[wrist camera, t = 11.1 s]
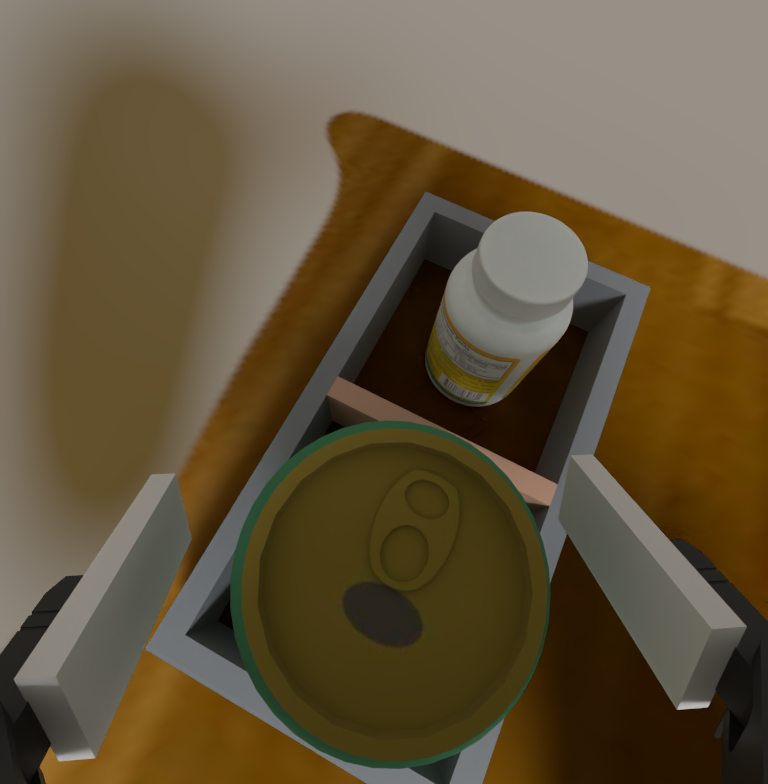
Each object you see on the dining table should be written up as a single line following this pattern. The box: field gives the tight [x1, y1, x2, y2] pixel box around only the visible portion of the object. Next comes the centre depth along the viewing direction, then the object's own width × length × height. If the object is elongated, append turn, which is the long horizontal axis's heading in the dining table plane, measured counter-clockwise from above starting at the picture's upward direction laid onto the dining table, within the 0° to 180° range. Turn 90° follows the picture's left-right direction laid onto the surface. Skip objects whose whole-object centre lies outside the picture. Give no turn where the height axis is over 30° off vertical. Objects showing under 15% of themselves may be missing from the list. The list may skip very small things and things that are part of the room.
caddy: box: [145, 192, 651, 784], centre depth 21 cm, size 12×24×4 cm, turn 153°
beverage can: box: [230, 420, 551, 769], centre depth 16 cm, size 8×8×12 cm
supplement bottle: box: [425, 212, 588, 407], centre depth 21 cm, size 5×5×10 cm
